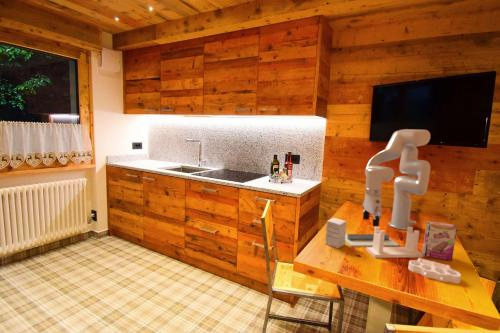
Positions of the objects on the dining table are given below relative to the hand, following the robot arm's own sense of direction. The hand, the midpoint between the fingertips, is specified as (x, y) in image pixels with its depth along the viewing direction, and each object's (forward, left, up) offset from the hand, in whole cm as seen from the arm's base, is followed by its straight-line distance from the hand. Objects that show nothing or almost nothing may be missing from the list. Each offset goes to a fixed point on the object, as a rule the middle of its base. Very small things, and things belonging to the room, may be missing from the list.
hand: (370, 222), depth 144 cm
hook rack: (-4, +16, -10) cm, 19 cm away
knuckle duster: (-10, +33, -11) cm, 36 cm away
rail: (+1, +1, -9) cm, 9 cm away
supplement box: (+21, +5, -10) cm, 24 cm away
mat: (+1, +1, -10) cm, 10 cm away
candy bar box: (-23, +20, -10) cm, 32 cm away
